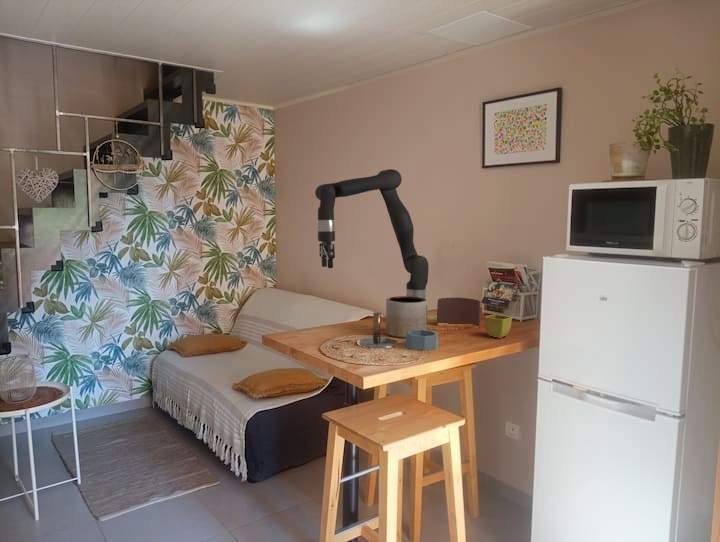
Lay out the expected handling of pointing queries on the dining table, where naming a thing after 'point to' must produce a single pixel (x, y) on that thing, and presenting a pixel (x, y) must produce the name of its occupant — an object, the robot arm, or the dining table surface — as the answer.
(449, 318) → the letter holder
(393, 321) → the planter
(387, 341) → the spindle on round base
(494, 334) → the flower pot
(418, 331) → the bowl
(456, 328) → the dining table surface
